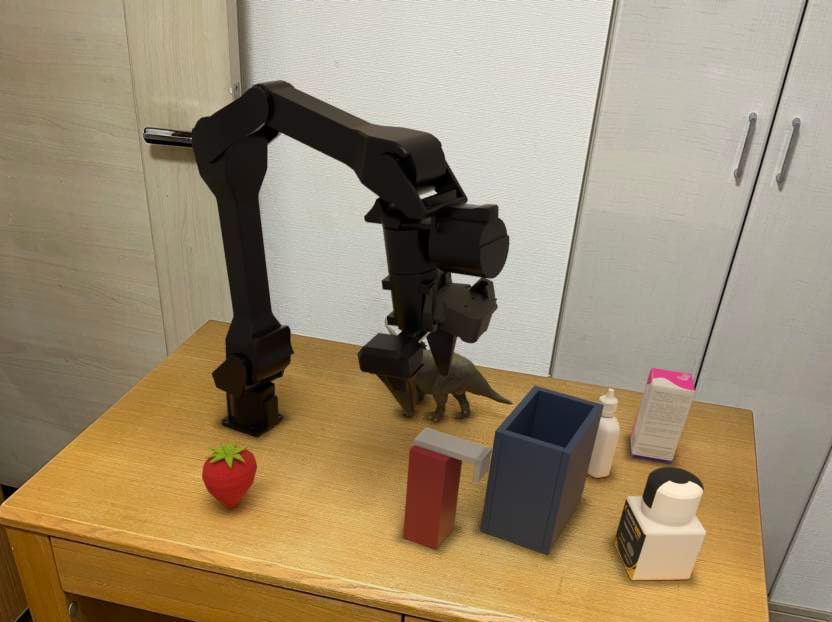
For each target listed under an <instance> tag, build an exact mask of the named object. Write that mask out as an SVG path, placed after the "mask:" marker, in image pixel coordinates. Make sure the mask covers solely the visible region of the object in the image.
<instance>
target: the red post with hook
mask: <svg viewBox="0 0 832 622" xmlns="http://www.w3.org/2000/svg"><path fill="white" fill-rule="evenodd" d="M492 449H493V447H490V446H487V445H484V444H480V443H477V442H473V441H471V440H468V439H464V438H461V437H458V436H454V435H451V434H448V433H445V432H442V431H439V430H435V429H432V428H430V427H425V428H424V429H422V431H421V432H419V433H418V434H417V436H415V437H414V438H413V445H412V446H411V447H410V449H409V453H408V465H407V477H406V478H407V479H406V480H407V481H406V490H405V491H406V492H405V504H404V505H405V506H404V519H403V529H402V531H403V532H402V538H403V539H405V540H408V541H411V542H414V543H417V544H419V545H422V546H424V547H427V548H430V549H433V550H435V551H437V550H438V549H439V548H440V546H441V545H442V544H443V542H444V541H445V540H446V539H447V538H448V536H449V535H450V534H451V532H452V531H453V530H454V528H455V520H456V514H457V505H458V496H459V490H460V489H459V488H460V481H461V472H462V467H463V466H462V464H463V462H465V463H468V464H472V465H474V467H473V475H472V482H473V483H476V484H479V483H480V481H481V480H482V479H483V478H484V477H485V475H486V474H487V473H488V472H489V469H490V462H491V456H492Z"/></svg>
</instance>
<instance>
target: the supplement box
mask: <svg viewBox="0 0 832 622" xmlns="http://www.w3.org/2000/svg"><path fill="white" fill-rule="evenodd" d="M695 389H696V388H695V385H694V380H693V374H692V373H690V372H689V373H688V372H683V371H676V370H669V369H664V368H658V367H657V368H656V367H650V369H649V374H648V377H647V379H646V384H645V387H644V390H643V394H642V397H641V400H640V404H639V407H638V410H637V414H636V417H635V421H634V424H633V428H632V431H631V434H630V436H629V448H630V449H629V450H630V451H629V452H630V458H632V459H636V460H644V461H650V462H656V463H662V464H672V462H673V459H674V457H675V455H676V451H677V448H678V445H679V441H680V439H681V436H682V433H683V430H684V427H685V425H686V421H687V418H688V415H689V412H690V410H691V406H692V403H693V400H694V397H695V394H696V390H695Z"/></svg>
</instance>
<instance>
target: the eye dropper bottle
mask: <svg viewBox="0 0 832 622" xmlns="http://www.w3.org/2000/svg"><path fill="white" fill-rule="evenodd" d="M597 403H599V404H603V405H604V407H603V411H602V415H601V419H600V423H599V427H598V431H597V436H596V440H595V444H594V448H593V452H592V456H591V460H590V464H589V469H588V473H587V475H589V476H590V477H592V478H595V479H600V478H605V477H609V476H610V473H611V469H612V465H613V461H614V457H615V453H616V450H617V447H618V443H619V438H620V434H621V426H620V423H619V420H618V418H617V417H616V416H615V415H616V412H617V408H618V404H619V399H618V398H617V397H615V389H614V388H608V390H607V392H606V394H603V395H601V396H599V398H598V401H597Z"/></svg>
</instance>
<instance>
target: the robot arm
mask: <svg viewBox="0 0 832 622" xmlns="http://www.w3.org/2000/svg"><path fill="white" fill-rule="evenodd" d="M190 133H191V134H190V141H191V147H192V151H193V156H194V158H195V162H196V166H197V171H198V174H199V176H200V179H202V181H203V182H204V184H205V185H206V186H207V188H208V189H209V191H210V192H211V193H212V194H213V196H214V197H215V200H216V205H217V212H218V218H219V225H220V232H221V239H222V246H223V252H224V259H225V266H226V273H227V280H228V281H227V282H228V287H229V294H230V301H231V307H232V318H231V322H230V324H229V327H228V330H227V333H226V336H225V338H224V339H225V341H224V343H225V360H224V361H223V362H222V363H220V364H219V366H218V367H217V368H215V369H214V370H213V371H212V372H211V376H212V380H213V382H214V386H215V388H216V389H218V390H221V391H223V392H225V397H226V398H225V399H226V409H227V416H224V418H221V420H220V421H221V422H220V424H221V425H222V426H225V427H228V428H231V429H234V430H237V431H240V432H243V433H245V434H249V435H251V436H254V437H259V436H261V435H263V434H264V433H265V432H267V430H269V429H271V428H272V427H273V426H274V425H276V424H277V423H279V422H280V421H281V420H283V418H284V414H283V413H282V412H281V413H280V412H279V398H278V397H279V396H278V394H276V383H275V382H274V381H275V380H277V379H281V378H283V377H284V373H285V371H286V369H287V368H288V366H289V365H291V361H292V355H294V354H295V351H294V348H293V345H292V338H291V337H292V336H291V335H292V329H291V328H290V326H289V325H287V324H282V323H281V322H280V321H279V319H278V318H277V316H275V314H274V313H273V309H272V300H271V292H270V283H269V276H268V275H269V274H268V267H267V258H266V250H265V242H264V233H263V226H262V224H263V223H262V217H261V209H260V200H259V199H260V197H259V196H260V191H261V189H262V187H263V182H264V181H265V176H266V175H267V171H268V161H269V160H268V159H269V157H268V156H269V155H268V154H269V153H268V152H269V150H268V149H269V145H271V143H273V142H274V141H275V140H277V139H278V138H279V137H280V136H281V135H282V134H283V135H284V136H286V137H289V138H291V139H292V140H295V141H297V142H299V143H300V144H302V145H305V146H307V147H309V148H311V149H314V150H315V151H317V152H319V153H322V154H324V155H325V156H327V157H330V158H332V159H334V160H336V161H338V162H340V163H342V164H344V165H345V166H347V167H348V168H349V169H351V170H352V171H353V172H354V173H355V175H356V177H357V179H358V180H359V182H360V184H361V185H362V186H363V187H365V188H366V189H368V190H369V191H371V192H372V193H373V194H374V195H376V196H377V198H376V199H375V202H374V203H373V205H372V206H371V209H369V210H368V211H367V213H365V214H364V216H363V220H364V222H365V223H370V224H375V225H381V226H382V235H383V242H384V250H385V251H384V252H385V258H386V265H387V274H388V275H386V276H385V277H384V278H382V279H381V289H382V290H383V291H390V297H391V298H390V299H391V305H392V311H391V312H390V313H389V314H388V315H386V316H385V318H386V321H387V325H388V326H390V327H391V326H393V327H397V329H398V330H399V331H400V332H399V333H398V334H397V335H392V334H390V333H385V332H378V333H376V334H375V335H374V336H373V337H372V338H371V339H369V340H368V341H367V342H366V343H365V344H364V345H363V346H362V347H361V348H360V350H358V352H357V353H356V354H357V360H358V367H359V370H360V371H361V373H368V374H371V375H375V376H376V377H377V378H378V379H379V380H380V381H381V382H382V384H383V385H384V386H385V387H386V388H387V390H388V391H389V392H390V394H391V395H392V396H393V398H394V399H395V400H396V402H397V403H398V404H399V406H400V407H401V409H403V410H404V411H405V412H406V413H410V414H413V413H414V412H416V407H415V375H416V374H417V373H418V372H419V371H420V370H421V369H422V368H423V367H424V366H425V364H423V363H422V359H423V346H422V345H421V344H420V342H421V341H424V340H425V339H426V341H427V344H428V347H429V349H430V350H431V353H432V356H433V359H434V362H435V364H436V367H437V369H438V371H439V374H440V375H441V376H448V375H449V372H450V368H451V363H452V358H453V354H454V352H455V348H456V344H457V340H458V338H459V339H460V341H462V342H464V343H467V344H475V343H477V342H478V341H479V340H480V338H481V337H482V335H484V333H486V332H487V331H488V329H489V326H490V323H491V321H492V318H493V317H492V316H493V314H494V313H495V312H496V311H497V310H498V308H499V305H498V304H497V300H498V298H496V292H495V285H494V281H493V280H491V279H495V278H497V277H498V276H499V275H500V274H501V272H502V271H503V269H504V267H505V265H506V262H507V260H508V257H509V250H510V235H509V234H508V230H507V226H506V223H505V222H504V221H503V219H501V218H500V217H499V216H500V215H499V214H500V213H499V211H500V209H499V206H498V204H495V203H483V204H473V203H468V201H469V198H468V196H467V194H466V193H465V191H464V188H463V187H462V185H461V184H460V181H458V178H457V177H456V175H455V173H454V172H453V170H452V167H450V165H449V163H448V161H447V159H446V154H445V152H444V149H443V144H442V142H441V141H440V139H439V138H438V137H436V136H435V135H434V134H432V133H430V132H427V131H423V130H419V129H418V130H417V129H413V128H410V127H409V128H408V127H405V126H393V125H392V126H391V125H379V124H376V123H371V122H370V121H367V120H365V119H362V118H361V117H358V116H356V115H354V114H352V113H349V112H348V111H345V110H343V109H341V108H339V107H336V106H334V105H333V104H330V103H328V102H326V101H323V100H321V99H319V98H317V97H315V96H313V95H311V94H308V93H307V92H304V91H302V90H300V89H297V88H295V86H294V85H293V84H292V83H290V82H288V81H286V80H282V79H277V80H271V81H264V82H257V83H255V84H253V85H252V86H251V87H250V88H248V89H247V90H245V92H243V94H242V95H241V96H239V97H238V98H236V99H235V100H233V101H231V102H230V103H228V104H226V105H225V106H223V107H221V108H220V109H218V110H217V111H215V112H214V113H211V115H207V116H202V117H200V118H199V119H198V120H197V121H196V122H195V125H194V127H193V128H191V132H190ZM432 192H435V193H434V194H432V195H431V194H430V193H432ZM427 194H430V195H429V196H426V197H423V198H421V196H424V195H427ZM452 274H456V275H463V276H468V277H477V278H479V279H478V280H477V281H476V282H475V283H473V285H471V284H470V283H462V282H461V283H460V282H453V278H452ZM414 414H415V413H414Z"/></svg>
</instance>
